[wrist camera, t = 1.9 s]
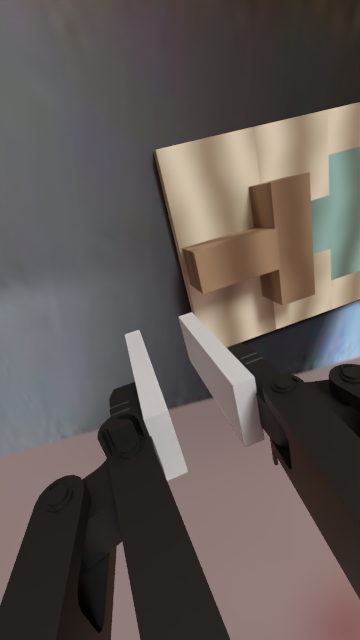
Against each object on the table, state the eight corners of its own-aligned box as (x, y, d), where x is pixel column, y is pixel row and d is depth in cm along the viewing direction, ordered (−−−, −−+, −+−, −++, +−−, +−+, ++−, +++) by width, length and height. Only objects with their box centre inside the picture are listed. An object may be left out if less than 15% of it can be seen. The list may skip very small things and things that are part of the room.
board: (201, 351, 35) (204, 355, 34) (153, 152, 26) (155, 149, 25) (386, 284, 39) (394, 286, 38) (398, 95, 31) (409, 90, 29)
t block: (198, 317, 32) (211, 330, 28) (172, 207, 27) (183, 205, 24) (292, 286, 34) (315, 294, 30) (283, 177, 29) (309, 172, 25)
